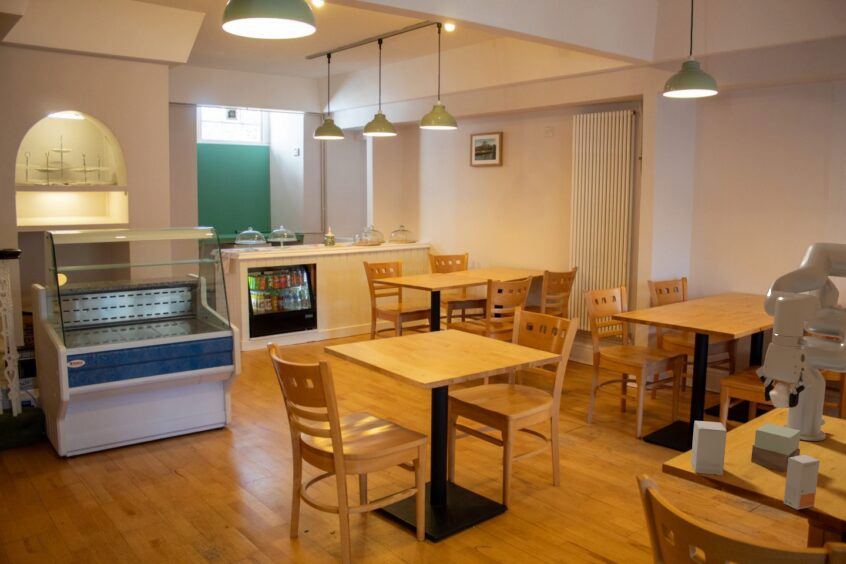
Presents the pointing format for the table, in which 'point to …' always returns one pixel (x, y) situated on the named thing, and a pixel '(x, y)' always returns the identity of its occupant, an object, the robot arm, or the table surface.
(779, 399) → the muffin
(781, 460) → the bottom block
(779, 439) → the top block
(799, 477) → the skincare box
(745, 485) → the table surface
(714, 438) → the supplement box
